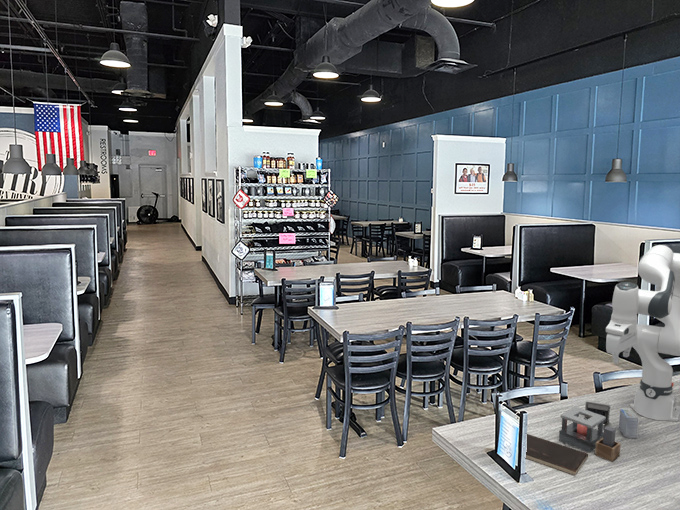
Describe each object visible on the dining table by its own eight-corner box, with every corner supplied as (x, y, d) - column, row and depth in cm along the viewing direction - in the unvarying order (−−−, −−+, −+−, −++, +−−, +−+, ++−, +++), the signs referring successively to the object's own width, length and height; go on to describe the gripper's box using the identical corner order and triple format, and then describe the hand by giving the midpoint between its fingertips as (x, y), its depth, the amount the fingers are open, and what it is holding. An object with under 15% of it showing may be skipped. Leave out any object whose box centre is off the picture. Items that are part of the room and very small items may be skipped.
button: (579, 434, 200) (580, 421, 200) (588, 437, 198) (589, 425, 197) (574, 437, 198) (575, 424, 197) (584, 440, 195) (585, 428, 195)
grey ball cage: (573, 430, 207) (575, 406, 205) (603, 442, 197) (605, 416, 196) (558, 440, 199) (560, 414, 197) (589, 452, 190) (592, 426, 188)
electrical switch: (608, 422, 214) (610, 402, 212) (609, 428, 210) (610, 408, 208) (584, 417, 218) (585, 398, 216) (584, 424, 214) (585, 404, 212)
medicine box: (637, 438, 200) (639, 418, 199) (624, 437, 201) (626, 417, 200) (630, 429, 208) (631, 409, 207) (618, 428, 209) (620, 408, 208)
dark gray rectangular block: (605, 451, 190) (607, 425, 189) (613, 454, 188) (615, 428, 186) (601, 453, 188) (603, 428, 187) (610, 457, 186) (612, 431, 184)
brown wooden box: (602, 449, 192) (603, 437, 192) (619, 456, 188) (620, 443, 187) (594, 454, 188) (595, 442, 188) (612, 461, 184) (613, 449, 183)
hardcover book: (575, 477, 175) (575, 471, 175) (510, 454, 190) (510, 448, 189) (587, 458, 187) (588, 452, 187) (525, 438, 202) (526, 432, 201)
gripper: (625, 318, 203) (623, 351, 205) (603, 328, 190) (601, 363, 192) (643, 321, 198) (640, 355, 200) (621, 332, 185) (618, 368, 187)
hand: (620, 359), depth 196 cm, fingers open, 8 cm apart
